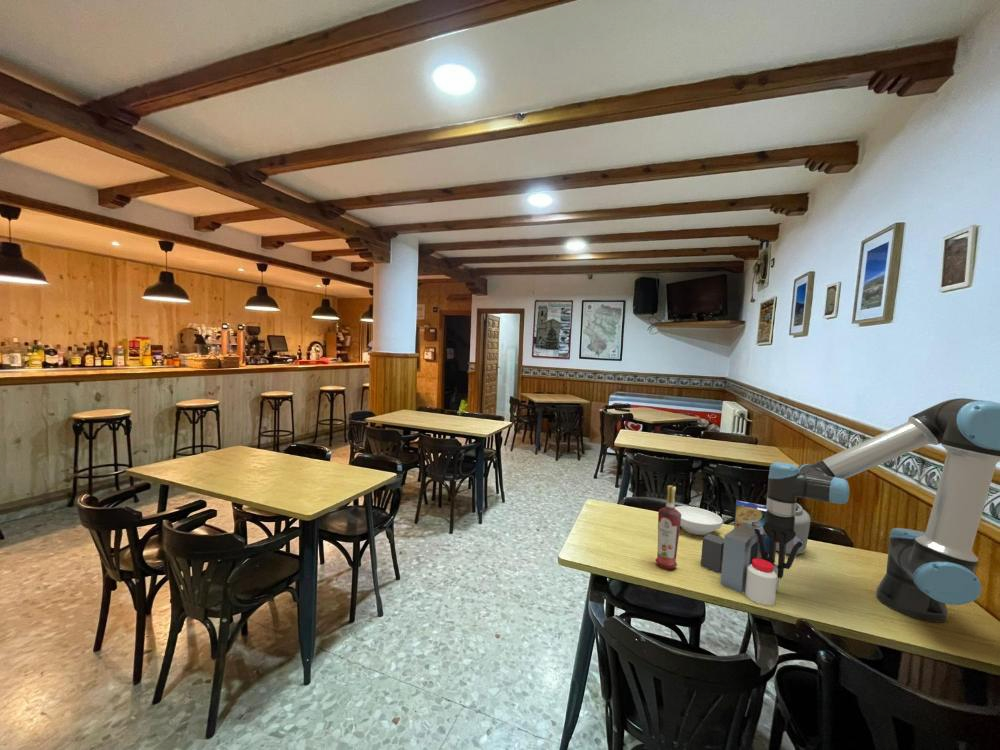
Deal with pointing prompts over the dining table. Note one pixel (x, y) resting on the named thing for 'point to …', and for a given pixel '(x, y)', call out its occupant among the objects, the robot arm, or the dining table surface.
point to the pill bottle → (761, 582)
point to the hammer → (712, 552)
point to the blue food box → (751, 516)
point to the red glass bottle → (668, 531)
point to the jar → (799, 530)
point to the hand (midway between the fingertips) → (774, 586)
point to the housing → (739, 555)
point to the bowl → (698, 520)
